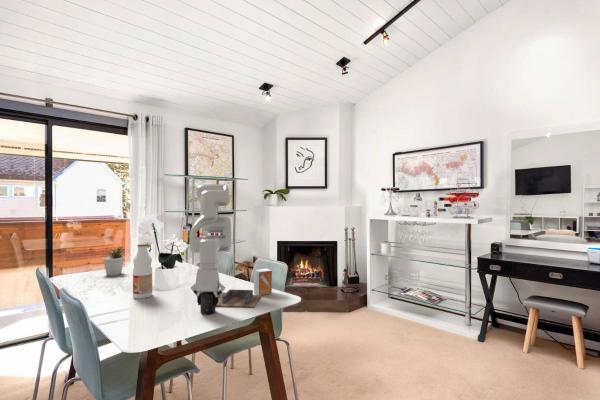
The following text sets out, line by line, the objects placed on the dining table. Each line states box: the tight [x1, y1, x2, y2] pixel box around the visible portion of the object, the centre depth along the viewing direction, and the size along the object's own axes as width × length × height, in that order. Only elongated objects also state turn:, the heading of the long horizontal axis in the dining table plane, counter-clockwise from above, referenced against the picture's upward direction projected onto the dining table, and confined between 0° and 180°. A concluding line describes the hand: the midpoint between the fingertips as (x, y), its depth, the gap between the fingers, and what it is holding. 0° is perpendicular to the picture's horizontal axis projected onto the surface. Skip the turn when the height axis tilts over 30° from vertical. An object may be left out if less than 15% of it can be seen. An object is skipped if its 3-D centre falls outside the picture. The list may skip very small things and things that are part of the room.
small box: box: [253, 268, 273, 296], centre depth 189 cm, size 8×6×13 cm
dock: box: [216, 289, 262, 309], centre depth 175 cm, size 20×18×4 cm
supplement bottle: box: [199, 292, 217, 316], centre depth 158 cm, size 7×7×12 cm
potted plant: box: [102, 244, 126, 277], centre depth 233 cm, size 13×14×20 cm
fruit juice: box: [132, 243, 153, 299], centre depth 183 cm, size 9×9×28 cm
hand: (207, 304), depth 158 cm, fingers closed on supplement bottle, 6 cm apart
